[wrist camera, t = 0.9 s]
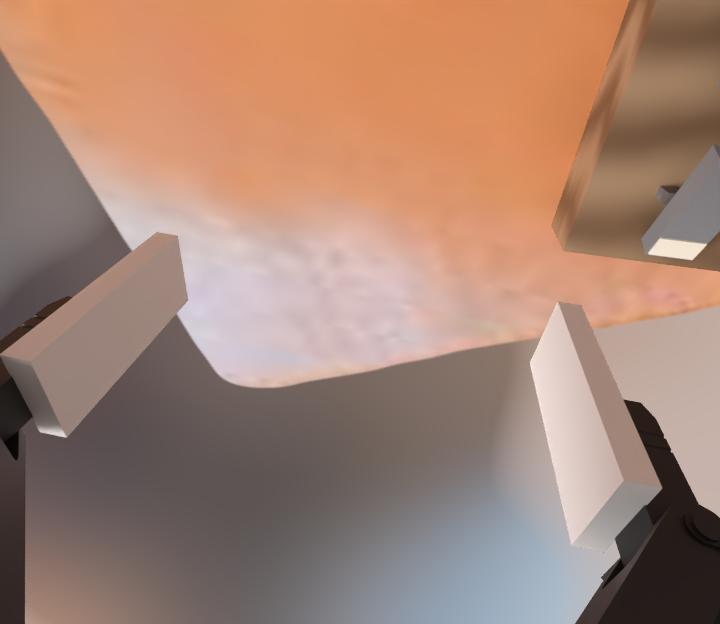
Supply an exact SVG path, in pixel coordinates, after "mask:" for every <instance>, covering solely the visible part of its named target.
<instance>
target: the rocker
mask: <svg viewBox="0 0 720 624" xmlns="http://www.w3.org/2000/svg"><path fill="white" fill-rule="evenodd" d="M719 231H720V145H713V146H712V147H711V148H710V149H709V151H708V152H707V153H706V155H705V156H704V157H703V159H702V160H701V161H700V163H699V164H698V165H697V166H696V168H695V169H694V170H693V172H692V173H691V174H690V176H689V177H688V178H687V180H686V181H685V182H684V184H683V185H682V186H681V187H680V189H679V190H678V191H677V193H676V194H675V195H674V197H673V198H672V199H671V201H670V202H669V203H668V204H667V206H666V207H665V208H664V210H663V211H662V212H661V214H660V215H659V216H658V218H657V219H656V220H655V221H654V223H653V224H652V225H651V227H650V228H649V229H648V231H647V232H646V233H645V235H644V236H643V237H642V239H641V240H642V244H643V248H644V252H645V255H653V256H660V257H668V258H676V259H684V260H691V261H692V260H693V259H694V258H695V257H696V256H697V255H698V254H699V253H700V252H701V251H702V250H703V248H704V247H705V246H706V245H707V244H708V243H709V242H710V241H711V240H712V239H713V238H714V237H715V236H716V234H717V233H718V232H719Z"/></svg>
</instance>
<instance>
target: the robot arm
mask: <svg viewBox="0 0 720 624" xmlns="http://www.w3.org/2000/svg"><path fill="white" fill-rule="evenodd" d="M187 301H188V297H187V291H186V284H185V278H184V272H183V266H182V260H181V254H180V248H179V242H178V236H176V235H170V234H164V233H158V232H157V233H155V234H154V235H153V236H151V237H150V238H149V239H148V240H146V241H145V242H144V243H142V244H141V245H140V246H139V247H137V248H136V249H135V250H133V251H132V252H131V253H130V254H128V255H127V256H126V257H124V258H123V259H122V260H121V261H119V262H118V263H117V264H115V265H114V266H113V267H112V268H110V269H109V270H108V271H107V272H105V273H104V274H103V275H101V276H100V277H99V278H97V279H96V280H95V281H94V282H92V283H91V284H90V285H88V286H87V287H86V288H85V289H83V290H82V291H81V292H79V293H78V294H77V295H76V296H74V297H65V298H63V299H60V300H58V301H56V302H53V303H51V304H49V305H47V306H46V307H45V308H43V309H42V310H41V311H39V312H38V313H37V314H35V315H34V318H30V319H29V320H27V321H26V322H25V323H23V324H22V327H18V328H17V329H15V330H14V331H12V332H11V333H10V334H8V335H7V336H6V337H4V338H3V339H2V340H0V624H25V458H26V457H25V456H26V453H25V452H26V451H25V450H26V440H25V439H26V436H25V433H24V431H23V429H22V427H23V426H24V425H25V424H26V423H27V421H29V419H30V418H33V420H34V422H35V424H36V426H37V427H38V429H39V431H40V432H43V433H47V434H52V435H57V436H62V437H66V438H67V436H68V435H69V434H70V433H71V432H72V431H73V430H74V429H75V428H76V426H77V425H78V424H79V423H80V422H81V421H82V420H83V418H84V417H85V416H86V415H87V414H88V413H89V412H90V411H91V409H92V408H93V407H94V406H95V405H96V404H97V403H98V402H99V400H100V399H101V398H102V397H103V396H104V395H105V394H106V392H107V391H108V390H109V389H110V388H111V387H112V386H113V384H114V383H115V382H116V381H117V380H118V379H119V378H120V377H121V375H122V374H123V373H124V372H125V371H126V370H127V369H128V368H129V366H130V365H131V364H132V363H133V362H134V361H135V360H136V359H137V357H138V356H139V355H140V354H141V353H142V351H143V350H144V349H145V348H146V347H147V346H148V345H149V344H150V343H151V342H152V340H153V339H154V338H155V337H156V336H157V335H158V334H159V333H160V331H161V330H162V329H163V328H164V327H165V326H166V325H167V323H168V322H169V321H170V320H171V319H172V318H173V317H174V316H175V314H176V313H177V312H178V311H179V310H180V309H181V308H182V306H183V305H184V304H185V303H186V302H187ZM530 366H531V370H532V375H533V379H534V383H535V388H536V392H537V397H538V401H539V405H540V410H541V414H542V418H543V423H544V427H545V432H546V436H547V440H548V445H549V449H550V454H551V458H552V462H553V467H554V471H555V475H556V480H557V484H558V489H559V493H560V497H561V502H562V506H563V511H564V515H565V519H566V524H567V528H568V533H569V537H570V541H571V545H572V546H575V547H580V548H584V549H589V550H594V551H598V552H603V553H604V552H605V551H606V550H607V549H608V548H609V546H610V545H611V544H612V543H613V542H614V541H616V544H617V547H618V550H619V553H620V559H619V560H618V561H617V562H616V563H615V564H614V565H613V566H612V567H611V568H610V569H609V570H608V571H607V572H606V573H605V574H604V575H603V576H602V577H601V578H602V579H603V580H604V581H603V582H602V584H601V585H600V587H599V588H598V590H597V591H596V593H595V594H594V596H593V597H592V599H591V600H590V602H589V603H588V605H587V606H586V608H585V610H584V611H583V613H582V614H581V616H580V617H579V619H578V620H577V622H576V623H575V624H720V518H719V517H718V516H717V515H716V514H714V513H713V512H712V511H710V510H708V509H706V508H704V507H703V506H701V505H699V504H698V502H697V500H696V498H695V496H694V494H693V492H692V490H691V488H690V486H689V484H688V482H687V480H686V478H685V476H684V474H683V472H682V470H681V468H680V466H679V464H678V462H677V460H676V458H675V456H674V454H673V453H671V448H670V446H669V445H668V442H667V440H666V439H664V434H663V432H662V430H661V428H660V426H659V424H658V422H657V420H656V419H655V417H654V416H652V414H651V413H650V412H649V411H648V410H647V409H646V408H645V407H644V406H643V405H642V404H641V403H639V402H634V401H628V400H623V398H622V396H621V393H620V391H619V389H618V387H617V384H616V382H615V380H614V378H613V375H612V373H611V371H610V369H609V366H608V364H607V362H606V360H605V358H604V355H603V353H602V351H601V348H600V346H599V344H598V342H597V339H596V337H595V335H594V333H593V330H592V328H591V326H590V324H589V321H588V319H587V317H586V315H585V312H584V310H583V308H582V306H581V305H575V304H569V303H563V302H557V304H556V307H555V309H554V311H553V313H552V315H551V318H550V320H549V322H548V324H547V326H546V329H545V331H544V333H543V335H542V337H541V340H540V342H539V344H538V347H537V349H536V351H535V353H534V355H533V358H532V360H531V362H530Z"/></svg>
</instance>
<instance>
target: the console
mask: <svg viewBox="0 0 720 624" xmlns="http://www.w3.org/2000/svg"><path fill="white" fill-rule="evenodd" d="M719 80H720V0H630V2H629V5H628V7H627V10H626V13H625V16H624V19H623V22H622V25H621V28H620V30H619V33H618V36H617V39H616V42H615V45H614V48H613V51H612V53H611V56H610V59H609V62H608V65H607V68H606V71H605V74H604V76H603V79H602V82H601V85H600V88H599V91H598V94H597V97H596V100H595V102H594V105H593V108H592V111H591V114H590V117H589V120H588V123H587V125H586V128H585V131H584V134H583V137H582V140H581V143H580V146H579V148H578V151H577V154H576V157H575V160H574V163H573V166H572V169H571V171H570V174H569V177H568V180H567V183H566V186H565V189H564V192H563V194H562V197H561V200H560V203H559V206H558V209H557V212H556V215H555V217H554V220H553V223H552V228H553V230H554V232H555V234H556V236H557V238H558V240H559V242H560V245H561V247H562V249H563V251H566V252H574V253H582V254H589V255H597V256H605V257H612V258H620V259H628V260H635V261H643V262H651V263H658V264H666V265H674V266H682V267H689V268H697V269H705V270H712V271H720V231H719V232H718V233H717V234H716V236H715V237H714V238H713V239H712V240H711V241H710V242H709V243H708V244H707V245H706V246H705V247H704V248H703V250H702V251H701V252H700V253H699V254H698V255H697V256H696V257H695V258H694V259H693V260H692V261H691V260H684V259H676V258H668V257H660V256H653V255H645V252H644V248H643V244H642V240H641V239H642V237H643V236H644V235H645V233H646V232H647V231H648V229H649V228H650V227H651V225H652V224H653V223H654V221H655V220H656V219H657V218H658V216H659V215H660V214H661V212H662V211H663V210H664V208H665V207H666V206H667V204H668V203H669V202H670V201H671V199H672V198H673V197H674V195H675V194H676V193H677V191H678V190H679V189H680V187H681V186H682V185H683V184H684V182H685V181H686V180H687V178H688V177H689V176H690V174H691V173H692V172H693V170H694V169H695V168H696V166H697V165H698V164H699V163H700V161H701V160H702V159H703V157H704V156H705V155H706V153H707V152H708V151H709V149H710V148H711V147H712V146H713V145H720V86H719V85H718V83H717V82H718V81H719Z"/></svg>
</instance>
